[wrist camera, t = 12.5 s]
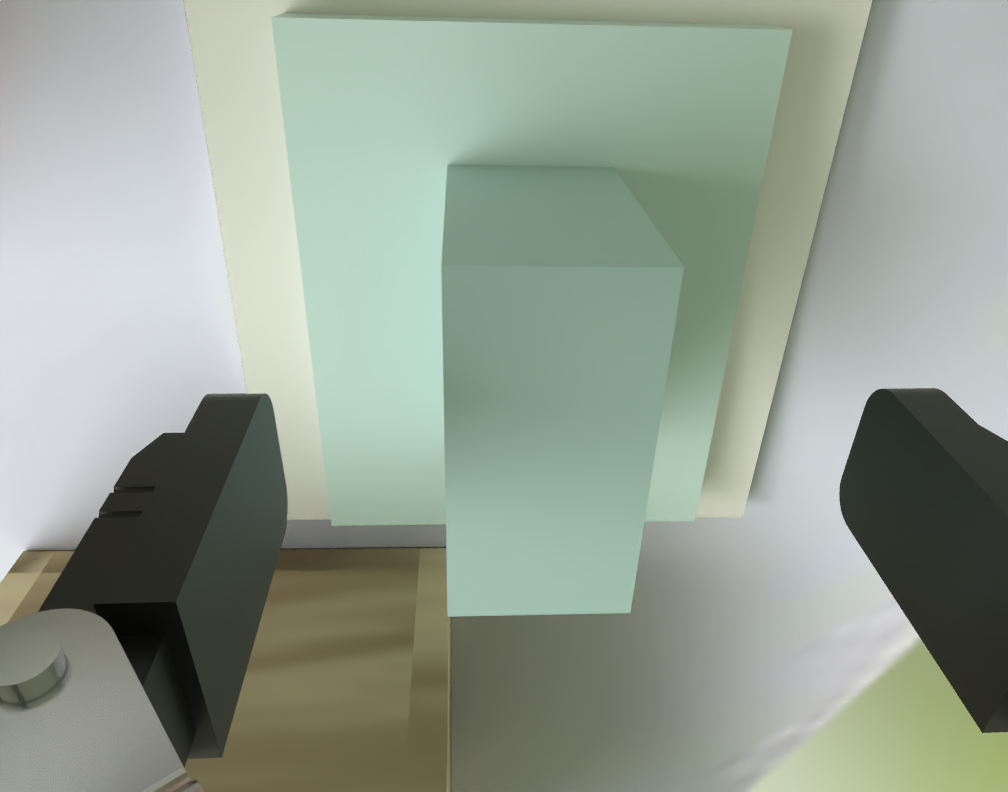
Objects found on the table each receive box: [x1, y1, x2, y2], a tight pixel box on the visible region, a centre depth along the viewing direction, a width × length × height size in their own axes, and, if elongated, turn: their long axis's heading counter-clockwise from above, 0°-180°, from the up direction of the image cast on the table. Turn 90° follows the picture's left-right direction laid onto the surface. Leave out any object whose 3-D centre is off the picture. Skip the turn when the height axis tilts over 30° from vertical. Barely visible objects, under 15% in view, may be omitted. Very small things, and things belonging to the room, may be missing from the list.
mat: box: [183, 0, 873, 520], centre depth 16 cm, size 12×12×1 cm
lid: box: [271, 13, 793, 617], centre depth 13 cm, size 11×9×6 cm
